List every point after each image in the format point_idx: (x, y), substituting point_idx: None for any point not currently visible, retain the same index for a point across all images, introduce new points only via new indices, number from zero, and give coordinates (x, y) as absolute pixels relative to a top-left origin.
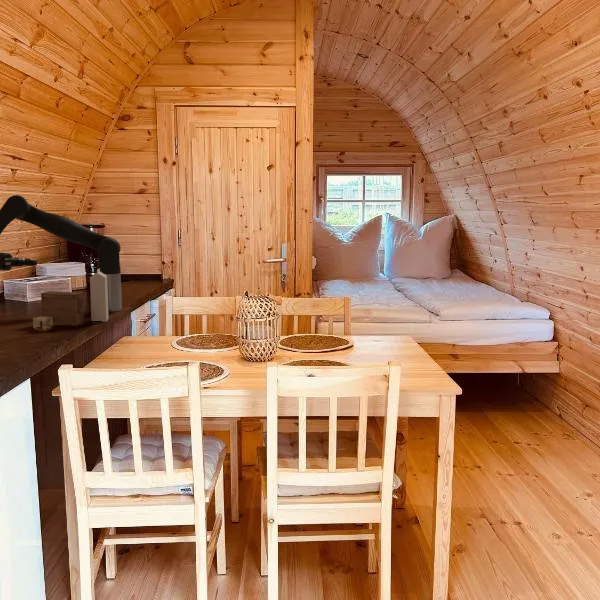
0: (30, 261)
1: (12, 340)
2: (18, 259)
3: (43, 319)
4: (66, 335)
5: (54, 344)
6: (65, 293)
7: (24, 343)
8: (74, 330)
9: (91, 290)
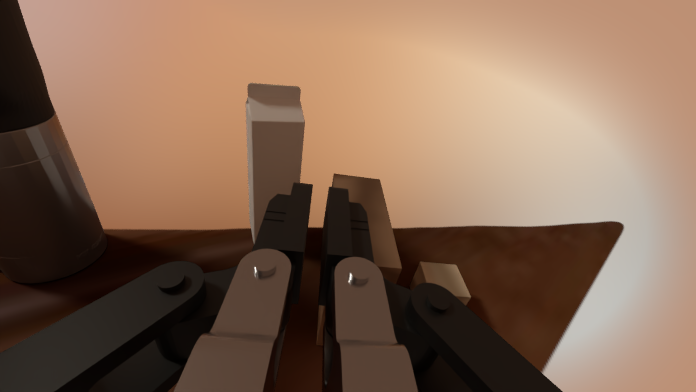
0: (353, 215)
1: (554, 310)
2: (405, 360)
3: (456, 268)
4: (441, 237)
5: (502, 230)
6: (367, 201)
7: (542, 274)
8: (396, 241)
9: (300, 162)
